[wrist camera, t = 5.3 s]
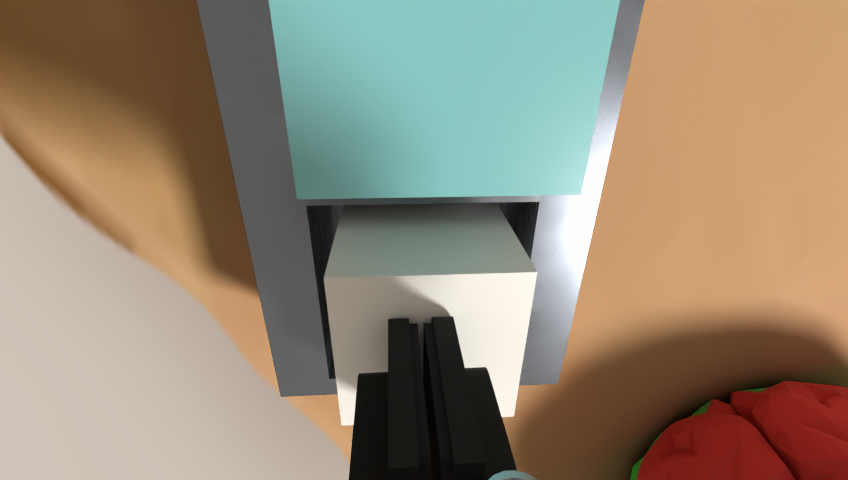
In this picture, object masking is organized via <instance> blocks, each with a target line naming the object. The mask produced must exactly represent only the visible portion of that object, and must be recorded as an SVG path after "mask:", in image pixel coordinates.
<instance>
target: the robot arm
mask: <svg viewBox="0 0 848 480" xmlns="http://www.w3.org/2000/svg"><path fill="white" fill-rule="evenodd" d="M349 480H538V479H537V478H535V477H533V476H531V475H529V474H527V473H524V472H520V471H517V468H516V465H515V461H514V458H513V455H512V451H511V448H510V444H509V441H508V437H507V434H506V430H505V427H504V424H503V420H502V417H501V413H500V410H499V406H498V403H497V399H496V396H495V392H494V389H493V386H492V382H491V379H490V375H489V372H488V370H487V368H486V367H477V368H465V367H464V362H463V358H462V353H461V349H460V344H459V340H458V335H457V331H456V326H455V322H454V318H453V316H447V317H432V319H431V323H424V334H423V374H422V364H421V354H420V343H419V333H418V324H417V323H415V324H409V318H397V319H388V372H376V373H359V374H358V380H357V391H356V403H355V414H354V426H353V438H352V450H351V461H350V473H349Z"/></svg>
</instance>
